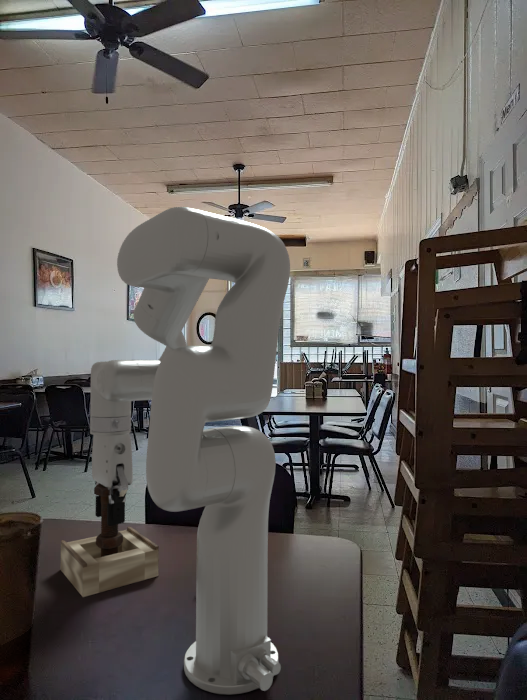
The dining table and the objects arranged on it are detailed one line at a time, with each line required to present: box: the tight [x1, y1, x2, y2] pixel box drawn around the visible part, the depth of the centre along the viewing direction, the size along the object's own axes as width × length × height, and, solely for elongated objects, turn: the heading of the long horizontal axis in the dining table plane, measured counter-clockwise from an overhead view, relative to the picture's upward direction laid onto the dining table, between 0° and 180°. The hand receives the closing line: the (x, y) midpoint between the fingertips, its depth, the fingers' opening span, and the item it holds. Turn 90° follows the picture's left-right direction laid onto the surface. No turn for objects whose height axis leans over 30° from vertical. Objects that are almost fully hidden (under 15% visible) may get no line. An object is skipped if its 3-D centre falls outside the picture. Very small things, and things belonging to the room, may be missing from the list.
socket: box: [60, 526, 160, 598], centre depth 94 cm, size 14×14×6 cm
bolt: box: [93, 482, 123, 557], centre depth 94 cm, size 6×5×15 cm
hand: (109, 518), depth 94 cm, fingers closed on bolt, 5 cm apart
